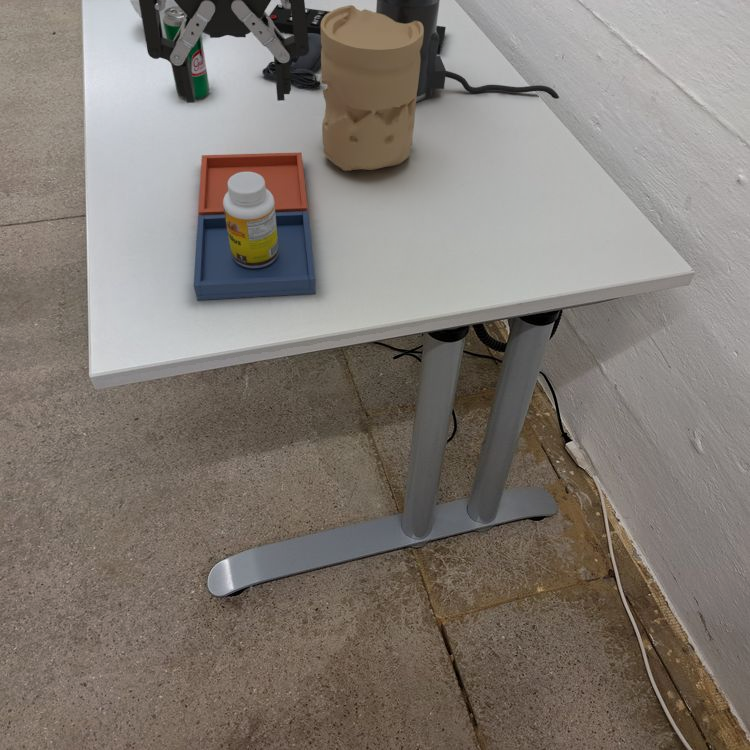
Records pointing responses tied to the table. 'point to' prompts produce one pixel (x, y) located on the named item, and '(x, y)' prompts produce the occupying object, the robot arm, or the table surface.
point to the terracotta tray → (275, 168)
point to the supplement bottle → (250, 220)
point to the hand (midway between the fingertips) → (236, 97)
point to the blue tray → (232, 280)
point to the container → (368, 87)
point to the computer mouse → (303, 65)
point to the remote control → (318, 22)
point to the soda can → (196, 54)
